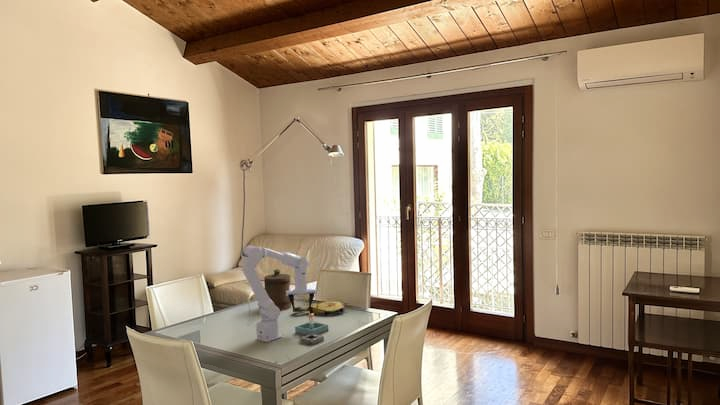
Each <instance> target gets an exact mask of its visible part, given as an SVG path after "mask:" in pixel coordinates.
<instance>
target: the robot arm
mask: <svg viewBox="0 0 720 405" xmlns="http://www.w3.org/2000/svg"><path fill="white" fill-rule="evenodd" d="M240 256H241V270H242V273H243V274H244V277H245V279H246V281H247V282H248V284H249V287H250V289H251V291H252V292H253V294H254V296H255V298H256V300H257V302H258V303H257V306H258V313H259V314H260V315H261V320H260V321H257V323H256V326H255V327H256V337H255V340H258V341H261V342H265V343H268V342H272V341H274V340H277V339H280V338H283V335H281V334H279V322H278V320H279V316H280V314H281V310H279V308H278V307H277V306H275V304H274V302H273V301H272V300H271V299H270V298H269V296H268V294H267V292H266V290H265V285H264V284H263V283H262V280H261V278H260V277H259V274H258V273H257V270H256V268H257V266H258V264H259V263H260V262H261V260H262V259H266V258H267V257H269V258H272V259H274V260H275V259H276V260H279V261H280V263H281V264H282V265H286V266H288V267H292V268H293V269H294V289H292V290H291V291H286V296H288V298H289V300H290V302H291V307H292V312H293V311H295V308H296V307H295V296H299V295H300V296H303V295H308V299H309V300H308V307H309V310H311V304H313V303H312V302H313V301H314V298H315V295H317V289H316V288H315V289H308V279H307V278H308V276H307V274H308V273H307V271H308V268H309V264H310V263H309V261H308V259H307V258H306V257H304V256H300V255H299V254H298V253H297V254H296V253H295V254H293V253H292V252H291V251H284V252H278V251H276V250H273V249H270V248H267V247H264V246H255V245H254V246H253V245H250V244H248V245H246V246H244V247H243V249H242V251H241V253H240Z"/></svg>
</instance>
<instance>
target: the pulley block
mask: <svg viewBox="0 0 720 405" xmlns="http://www.w3.org/2000/svg"><path fill="white" fill-rule="evenodd" d="M348 304H349V303H344V302H343V301H324V302H315V303H312V304H311V310H309V306H297V307H295V311H293V310H292V313H303V312H309V314H310V313H313V314H314V315H318V316H322V315H323V317H332V316H331V315H334V316H338V315H340V314H344V313H345V314H347V313H348V312H345V309H346V308H345V305H348ZM326 315H327V316H326ZM328 315H329V316H328Z"/></svg>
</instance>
